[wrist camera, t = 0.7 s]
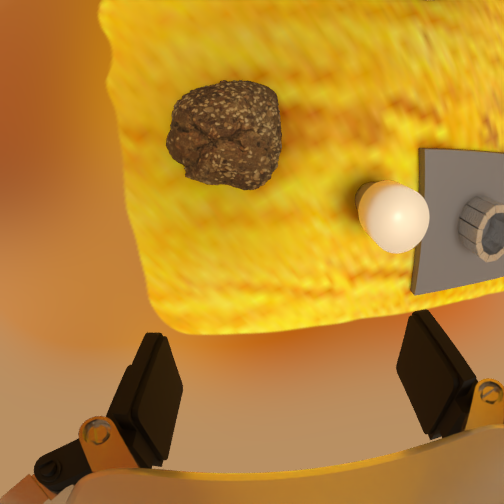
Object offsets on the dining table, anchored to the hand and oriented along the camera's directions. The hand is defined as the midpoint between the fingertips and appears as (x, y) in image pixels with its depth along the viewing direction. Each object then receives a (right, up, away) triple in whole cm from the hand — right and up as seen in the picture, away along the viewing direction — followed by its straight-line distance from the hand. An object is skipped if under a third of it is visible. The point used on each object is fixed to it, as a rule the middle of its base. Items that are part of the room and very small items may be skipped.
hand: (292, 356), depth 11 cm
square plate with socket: (+30, +9, +24) cm, 39 cm away
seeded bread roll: (-5, +17, +21) cm, 28 cm away
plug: (+13, +10, +24) cm, 29 cm away
